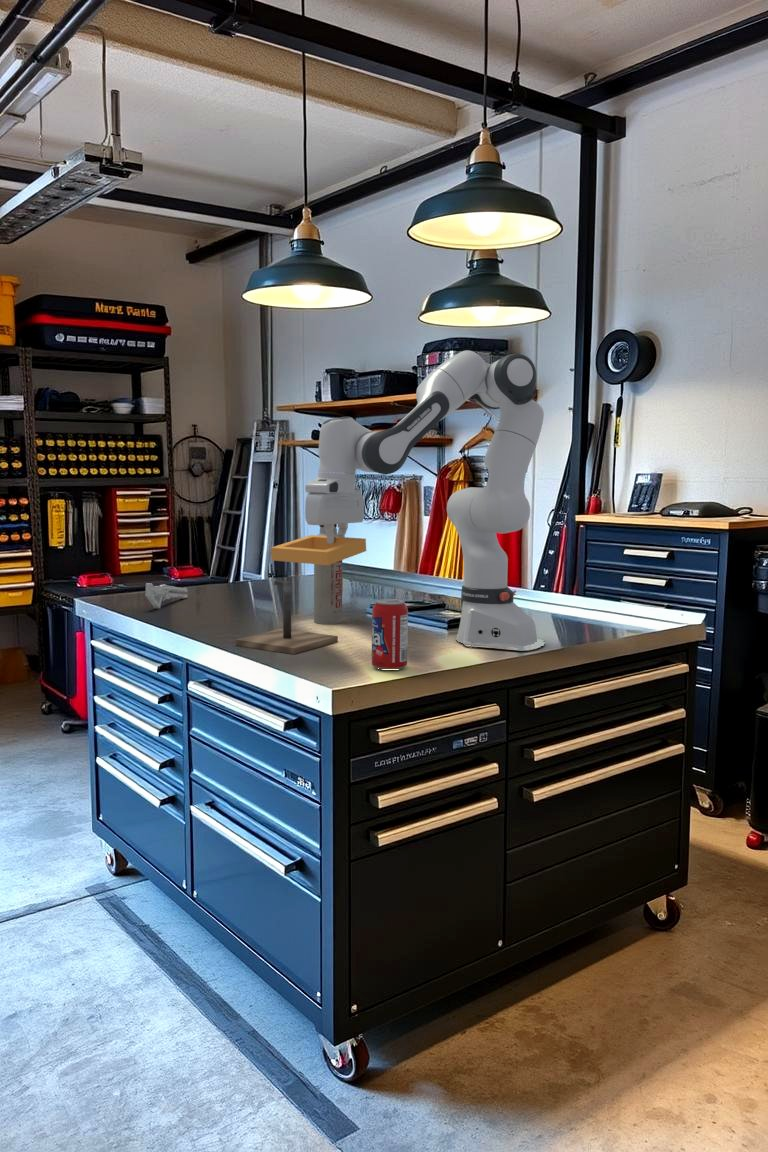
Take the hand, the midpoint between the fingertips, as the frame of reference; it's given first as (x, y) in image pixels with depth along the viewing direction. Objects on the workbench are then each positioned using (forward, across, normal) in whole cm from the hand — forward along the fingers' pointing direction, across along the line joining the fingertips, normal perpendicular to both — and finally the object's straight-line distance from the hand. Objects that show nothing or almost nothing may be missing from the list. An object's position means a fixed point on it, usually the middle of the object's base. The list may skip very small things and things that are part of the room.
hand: (335, 542), depth 214 cm
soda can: (+26, +12, +23) cm, 37 cm away
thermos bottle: (+26, -28, -22) cm, 44 cm away
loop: (+3, +7, 0) cm, 7 cm away
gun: (+26, -24, -81) cm, 88 cm away
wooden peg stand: (+26, +3, -12) cm, 29 cm away
